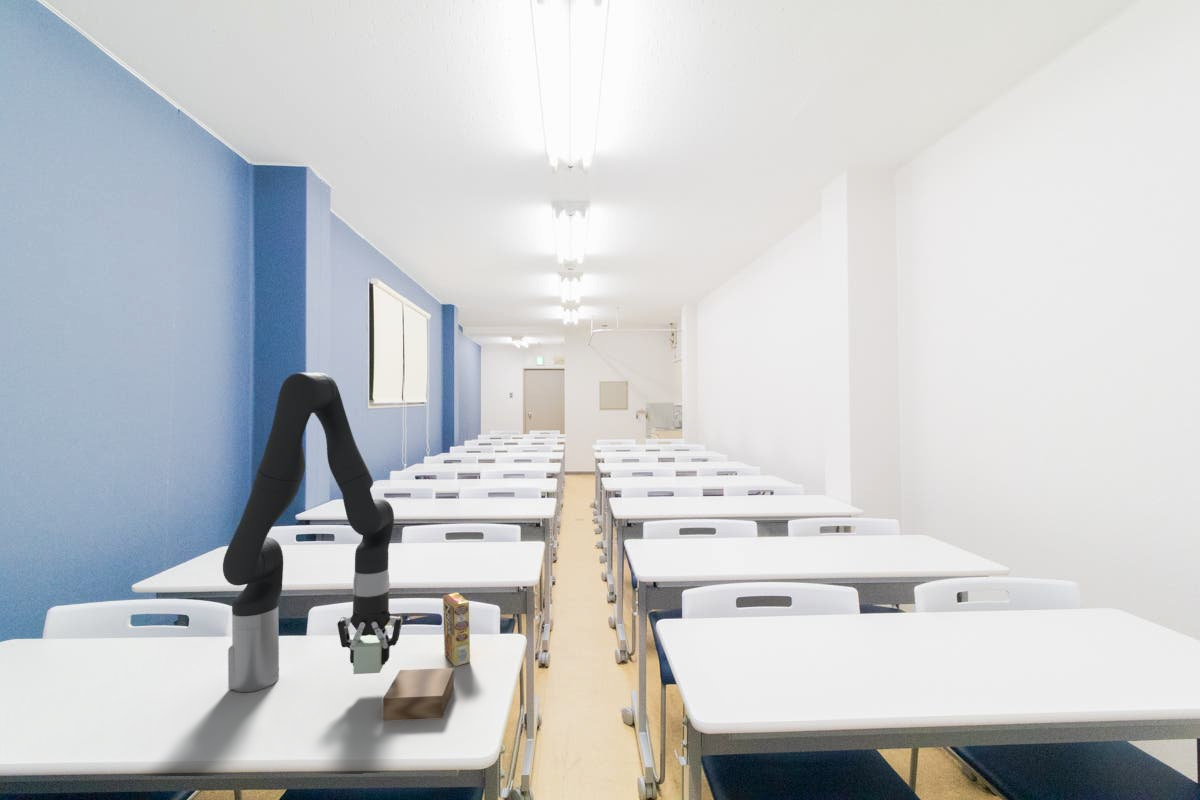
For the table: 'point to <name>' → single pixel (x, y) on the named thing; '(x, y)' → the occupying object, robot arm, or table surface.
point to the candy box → (456, 629)
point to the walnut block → (418, 694)
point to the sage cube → (367, 655)
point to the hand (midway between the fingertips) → (370, 663)
